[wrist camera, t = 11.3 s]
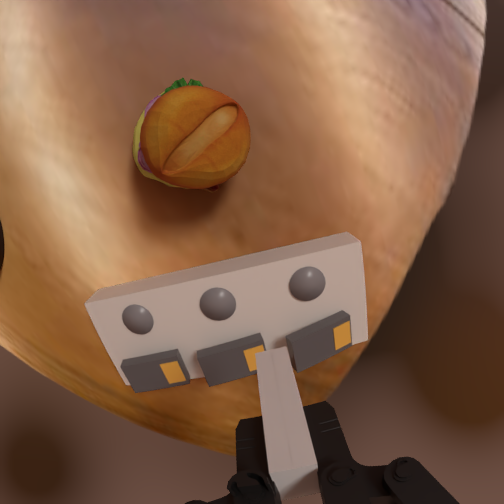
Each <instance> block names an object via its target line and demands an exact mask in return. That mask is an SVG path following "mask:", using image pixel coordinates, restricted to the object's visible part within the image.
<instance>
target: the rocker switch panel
mask: <svg viewBox="0 0 504 504" xmlns="http://www.w3.org/2000/svg"><path fill="white" fill-rule="evenodd" d="M84 304H85V307H86V309H87V311H88V313H89V316H90V318H91V320H92V322H93V324H94V326H95V328H96V330H97V332H98V334H99V336H100V338H101V340H102V342H103V344H104V346H105V348H106V350H107V352H108V354H109V356H110V358H111V359H112V361H113V363H114V365H115V367H116V368H117V370H118V372H119V374H120V375H121V377H122V379H123V380H124V382H125V384H126V385H130V383H129V381H128V380H127V378H126V376H125V374H124V373H123V371H122V369H121V367H120V366H121V363H122V361H123V359H129V358H134V357H139V356H145V355H150V354H155V353H159V352H164V351H169V350H174V349H178V350H179V352H180V355H181V357H182V359H183V361H184V364H185V366H186V368H187V370H188V372H189V374H190V379H195V378H202V377H205V376H204V373H203V371H202V369H201V367H200V364H199V362H198V360H197V351H198V350H201V349H205V348H209V347H212V346H216V345H219V344H223V343H226V342H230V341H233V340H237V339H240V338H243V337H247V336H250V335H253V334H257V333H261V336H262V338H263V340H264V344H265V348H266V351H268V350H272V349H277V348H281V347H285V346H286V347H287V342H286V337H285V336H286V335H288V334H291V333H293V332H295V331H298V330H300V329H302V328H304V327H307V326H309V325H311V324H313V323H316V322H318V321H320V320H322V319H324V318H326V317H329V316H331V315H333V314H335V313H337V312H339V311H341V310H343V311H345V312H346V313H348V314H349V315H350V320H351V334H352V345H353V344H357V343H360V342H363V341H367V340H368V328H367V307H366V291H365V278H364V267H363V257H362V247H361V241H360V240H358V239H357V238H356V237H354V236H353V235H351V234H350V233H349V232H344V233H340V234H335V235H331V236H327V237H322V238H318V239H314V240H310V241H305V242H301V243H297V244H292V245H288V246H284V247H279V248H275V249H271V250H266V251H262V252H258V253H254V254H249V255H245V256H241V257H236V258H232V259H228V260H223V261H219V262H215V263H210V264H206V265H202V266H197V267H193V268H189V269H184V270H180V271H176V272H171V273H167V274H162V275H158V276H154V277H149V278H145V279H141V280H136V281H132V282H128V283H123V284H119V285H115V286H110V287H106V288H101V289H98V290H97V291H96V292H95V293H94V294H93V295H92V296H91V297H90V298H89V299H88V300H87V301H86V302H85V303H84ZM287 350H288V347H287ZM288 354H289V351H288ZM289 358H290V356H289Z"/></svg>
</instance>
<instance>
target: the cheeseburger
mask: <svg viewBox="0 0 504 504" xmlns="http://www.w3.org/2000/svg"><path fill="white" fill-rule="evenodd" d="M133 140H134V142H133V148H132V151H133V158H134V160H135V163H136V165H137V167H138V169H139V171H140V172H141V173H142V174H143V175H144V176H145V177H148V178H151V179H154V180H157V181H160V182H162V183H164V184H166V185H168V186H172V187H182V188H184V189H204V190H206V191H209V192H215V191H217V190H218V189H220V185H219V184H220V183H223V182H225V181H227V180H228V179H230V178H231V177H233V176H234V175H236V174H237V173H238V171H239V170H240V169H241V167H242V166H243V164H244V163H245V161H246V158H247V155H248V152H249V149H250V127H249V123H248V119H247V116H246V114H245V112H244V111H243V109H242V108H241V106H240V105H239V104H238V103H237V102H236V101H234V100H233V99H231V98H230V97H228V96H226V95H224V94H223V93H221V92H218V91H215V90H213V89H210V88H207V87H203V86H202V84H201V83H200V81H195V80H192V79H191V80H190V81H189V83H188V85H187V83H186V81H185V80H184V78H182V79H180V80H177V81H175V82H174V83H173V84H172V86H171V87H169V88H166V89H165V92H163V93H161V94H160V95H159V96H157V97H155V98H154V99H153V100H152V101H150V102H149V104H148V106H147V107H146V108H145V110H144V111H143V113H142V114H141V116H140V119H139V121H138V123H137V125H136V127H135V129H134V136H133Z"/></svg>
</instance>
